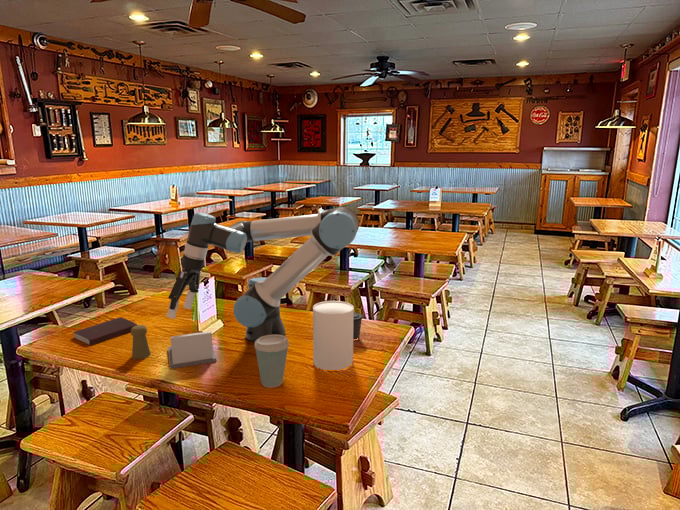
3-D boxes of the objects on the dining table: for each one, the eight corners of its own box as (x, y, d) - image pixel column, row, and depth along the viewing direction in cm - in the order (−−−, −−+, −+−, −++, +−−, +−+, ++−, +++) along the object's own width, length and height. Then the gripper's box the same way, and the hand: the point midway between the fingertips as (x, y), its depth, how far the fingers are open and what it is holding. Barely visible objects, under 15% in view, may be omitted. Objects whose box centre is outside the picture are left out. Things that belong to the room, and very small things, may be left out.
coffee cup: (339, 341, 175) (339, 316, 173) (344, 333, 183) (344, 309, 181) (360, 343, 173) (360, 318, 171) (364, 335, 181) (364, 311, 179)
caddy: (168, 349, 167) (165, 322, 165) (210, 343, 173) (209, 317, 171) (170, 368, 153) (167, 339, 151) (216, 361, 159) (214, 332, 156)
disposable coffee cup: (248, 385, 143) (246, 339, 140) (271, 371, 152) (270, 328, 148) (274, 395, 137) (272, 348, 134) (296, 380, 146) (296, 336, 142)
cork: (145, 350, 167) (142, 321, 164) (153, 355, 163) (151, 325, 161) (128, 356, 162) (125, 326, 160) (137, 360, 159) (134, 330, 156)
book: (138, 330, 186) (137, 323, 186) (90, 346, 171) (89, 338, 170) (121, 324, 193) (120, 316, 193) (73, 339, 178) (72, 331, 177)
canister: (331, 376, 149) (331, 317, 144) (305, 362, 159) (304, 306, 154) (361, 363, 158) (362, 307, 153) (334, 350, 167) (334, 298, 163)
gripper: (198, 249, 174) (184, 301, 177) (167, 257, 149) (152, 318, 152) (216, 255, 174) (202, 307, 177) (189, 264, 149) (173, 325, 152)
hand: (179, 312), depth 165 cm, fingers open, 13 cm apart
